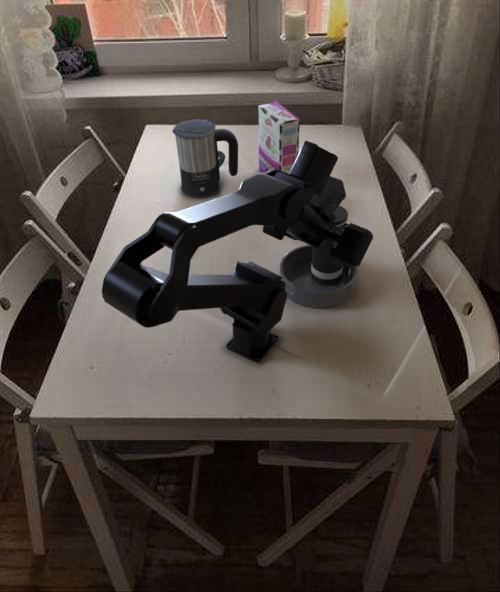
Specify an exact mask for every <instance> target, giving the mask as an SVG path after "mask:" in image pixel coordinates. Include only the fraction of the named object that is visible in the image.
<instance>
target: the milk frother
mask: <svg viewBox="0 0 500 592" xmlns="http://www.w3.org/2000/svg"><path fill="white" fill-rule="evenodd" d="M172 133H173V135H174V137H175V143H176V149H177V157H178V163H179V164H178V165H179V174H180V184H181V185H180V191H181V192H182V193H183V194H184V195H185V196H187V197H189V198H190V197H191V198H205V197H210V196H213V195H215V194H216V193H218V191H220V189H221V182H220V181H221V172H220V171H221V170H220V168H221V167H222V165H223V164H224V162H225V160H226V154H225V153H224V152H223V151H221V150H218V149H219V148H218V142H226V143H227V144H228V172H229V175H230V176H231V177H236V176H237V175H238V171H239V142H238V139H237V137H236V135H235V134H234V133H233V132H232V131H231V130H229V129H228V128H227V129H226V128H216V124H215V123H214V122H213V121H211V120H208V119H204V118H193V119H192V118H191V119H187V120H183V121H180V122H179V123H177V124H176V125H175V126H174V127H173V129H172Z"/></svg>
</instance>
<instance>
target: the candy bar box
mask: <svg viewBox="0 0 500 592" xmlns="http://www.w3.org/2000/svg"><path fill="white" fill-rule="evenodd" d="M257 106H258V108H257V109H258V111H257V112H258V171H259V173H266V172H268V171H270V170H272V169H278V170H280V171H283V172H285V173H288V174H289V172H290V170H291V168H292V166H293V164H294V162H295V160H296V158H297V156H298V154H299V151H300V150H299V147H300V146H299V145H300V126H301V125H300V124H301V123H300V122H301V119H300V118H299V117H297V116H296V115H294V113H292V112H290V111H289V110H288V109H287V108H286V107H284V106H283V105H281V103H279V102H278V101H273V102H268V103H263V104H259V105H257Z"/></svg>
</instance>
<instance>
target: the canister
mask: <svg viewBox="0 0 500 592" xmlns="http://www.w3.org/2000/svg"><path fill="white" fill-rule="evenodd" d="M333 214H335V215H336V216H337V217H336V219H335V221H334V223H330V224H333V225H335V226H337V227H339V226H340V225H342V224H343V225H344V223H347V224H348V221H349V212H348V210H347V209H346V208H345V207H343V206H342V205H339V206H338V208H337V209H336V210H335V211H334V213H333ZM330 231H331V232H333V233H335V234H336V232H334V231H332V230H330ZM338 233H339V232H338ZM332 241H333V240H332V239H330V238H326V242H325V244H322V243H320V245H319V247H318V248H315V247H313V253H312V266H311V277H312V279H313V281H315V282H316V283H318V284H320V285H325V286H330V285H334V284H336V283H338V282H339V281H340V280H341V276H342V269H343V262H341V261H339V260H337V259H336V258H333V257H331V256H329V253H330V251H331V249H332V247H333V245H334V244H333V243H332Z"/></svg>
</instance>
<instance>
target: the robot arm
mask: <svg viewBox="0 0 500 592" xmlns="http://www.w3.org/2000/svg"><path fill="white" fill-rule="evenodd" d="M338 160H339V157H338V156H337V154H335V153H332V152H330V151H329V150H326V149H325V148H323V147H320V146H319V145H318V144H317V143H314V142H312V141H309V140H304V141H303V143H302V145H301V148H300V150H299V151H298V156H297V158H296V160H295V162H294V164H293V166H292V168H291V170H290V172H289V174H288V173H285V172H283V171H280V170H278V169H272V170H270V171H268V172H266V173H261V172H257V173H255V174H253V175H252V176H249V177H248V178H245V179H244V180H243V181H241V183H240V186H239V188H238V190H236V191H234V192H232V193H229V194H226V195H223V196H220V197H217V198H213V199H211V200H208V201H205V202H202V203H199V204H196V205H193V206H190V207H187V208H184V209H181V210H178V211H175V212H174V211H173V212H163V213H161V214H159V215H158V216H157V217H156V219H154V221H153V223H152V224H151V226H149V228H148V229H147V231H146V232H145V233H143V234H142V235H140V236H138V237H137V238H136V239H134V240H133V241H131V242H130V243H128V244H127V245H125V246H124V247H123V248H122V249H121V251H120V253H119V254H118V255H117V257H116V258H115V260H114V261H113V263H112V264H111V266H110V267H109V269H108V270H107V272H106V273H105V275H104V278H103V280H102V287H101V297H102V298H103V301H104V303H106V304H107V305H109V306H110V307H112V308H113V309H115V310H116V311H118V312H120V313H121V314H123V315H125V316H126V317H128V318H129V319H130V320H132V321H134V322H135V323H137V324H138V325H140V326H142V327H143V328H145V329H146V328H147V329H151V328H154V327H158V326H161V325H164V324H168V323H170V322H173V320H174V319H175V317H176V315H177V314H178V312H182V311H197V310H208V309H209V310H210V309H220V311H221V313H222V314H224V315H226V316H228V317H230V318H231V319H233V322H232V338H231V339H230V340H229V341H228V342H227V343H226V344H225V348H226V349H227V350H229V351H231V352H233V353H236V354H238V355H239V356H242V357H244V358H246V359H248V360H250V361H253V362H254V363H260V362H261V361H262V360H263V359H264V357H265V356H266V355H267V354H268V353H269V351H270V350H271V349H272V348H273V347H274V346H275V344H276V343H277V341H278V340H279V335H277V334H274V333H272V329H273V328H274V327H275V326H277V325H278V324H279V323H280V322H281V321H282V318H283V313H284V310H285V306H286V302H287V299H288V298H287V292H286V291H285V287H286V283H285V282H284V281H282V280H281V279H282V277H281V276H280V274H277V273H275V272H273V271H271V270H269V269H267V268H265V267H263V266H261V265H259V264H257V263H255V262H253V261H251V260H248V261H245V262H241V261H239V260H237V261H236V265H235V268H234V269H233V270H232V272H231V274H196V273H195V274H192V273H191V274H190V269H191V262H192V259H193V257H194V255H195V254H196V252H197V251H198V250H199V248H200V247H203V246H205V245H207V244H210V243H212V242H216V241H217V240H220V239H222V238H225V237H227V236H230V235H232V234H235V233H237V232H239V231H242V230H244V229H246V228H248V227H252V226H261V227H262V233H263V234H265V235H268V236H270V237H272V238H274V239H276V240H278V241H283V240H284V237H287V238H289V239H291V240H293V241H300V242H302V243H304V244H306V245H311V246H313V247H315V248H318V247H319V245H320V243H322V244H325V242H326V238H330V239H332V240H333V241H332V243H333V244H334V245H333V247H332V249H331V251H330V253H329V256H331V257H333V258H336V259H337V260H339V261H341V262H344V263H346V264H348V265H350V266H353V267H357V266H358V267H359V266H360V265H361V263H362V262H363V259H364V257H365V255H366V253H367V251H368V249H369V247H370V245H371V243H372V241H373V239H374V235H373V232H372V231H371V230H370V229H368V228H365V227H362V226H360V225H357V224H356V223H353V222H349V223H348V222H347V223H344V225H343V224H342V225H340V226H339V227H337V226H335V225H333V224H330V223H334V221H335V219H336V217H337V216H336V215H335V214H333V213H334V211H335V210H336V209H337V208H338V206H341V204H342V202H343V201H344V200H346V197H347V193H346V188H345V185H344V181H343V180H342V179H339V178H337V177H334V176H332V172H333V170H334V168H335V166H336V165H337V162H338ZM330 230H332V231H334V232H336V234H335V233H333V232H331V231H330ZM338 232H339V233H338ZM165 247H166V248H168V249H170V250H172V251H171V259H170V265H169V273H166V272H163V271H161V270H158V269H156V268H153V267H150V266H147V265H146V264H142V263H143V262H144V261H145V260H147V259H149V258H150V257H151V256H153V255H155V254H156V253H157V252H159V251H161V250H162V249H164V248H165Z"/></svg>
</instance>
